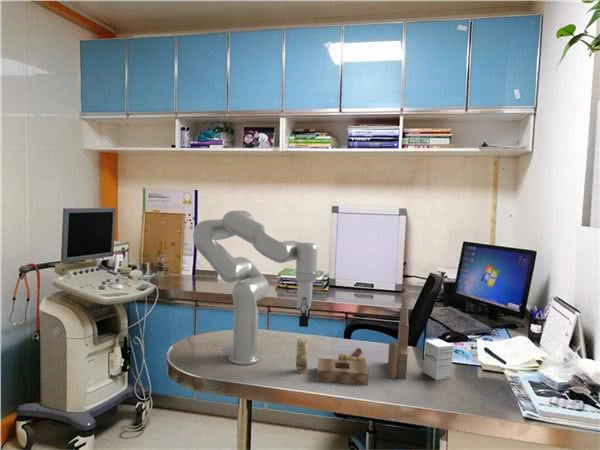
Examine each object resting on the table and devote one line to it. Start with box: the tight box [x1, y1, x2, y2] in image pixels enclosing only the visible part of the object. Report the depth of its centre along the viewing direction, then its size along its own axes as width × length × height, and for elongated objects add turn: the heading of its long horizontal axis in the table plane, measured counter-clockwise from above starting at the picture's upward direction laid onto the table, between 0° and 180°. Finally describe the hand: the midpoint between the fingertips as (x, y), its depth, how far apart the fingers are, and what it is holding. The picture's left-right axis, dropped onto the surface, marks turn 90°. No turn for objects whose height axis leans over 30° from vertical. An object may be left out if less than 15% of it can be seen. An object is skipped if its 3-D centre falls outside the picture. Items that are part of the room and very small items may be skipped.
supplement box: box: [423, 338, 454, 381], centre depth 156 cm, size 7×7×13 cm
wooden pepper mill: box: [295, 337, 309, 374], centre depth 154 cm, size 4×4×12 cm
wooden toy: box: [387, 306, 410, 379], centre depth 158 cm, size 16×7×25 cm, turn 169°
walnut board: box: [316, 357, 370, 386], centre depth 152 cm, size 18×11×4 cm, turn 86°
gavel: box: [337, 347, 366, 362], centre depth 169 cm, size 21×5×10 cm
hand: (304, 322), depth 153 cm, fingers open, 9 cm apart
